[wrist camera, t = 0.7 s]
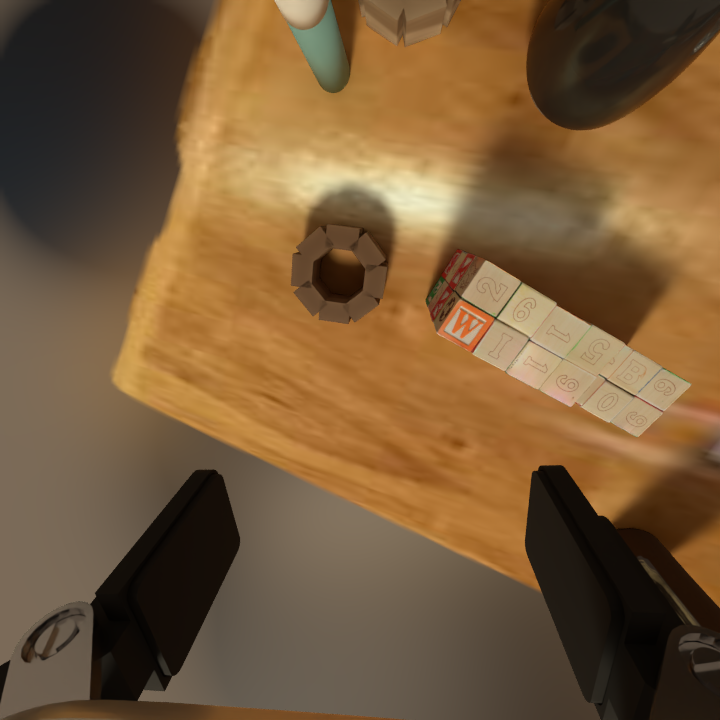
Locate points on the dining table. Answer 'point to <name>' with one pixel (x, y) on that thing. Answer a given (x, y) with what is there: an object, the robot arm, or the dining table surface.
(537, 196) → the dining table surface
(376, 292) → the bead
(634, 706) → the robot arm
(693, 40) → the black tapered dome
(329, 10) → the teal cylinder white end
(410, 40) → the bead
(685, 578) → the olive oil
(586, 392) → the stack of blocks
